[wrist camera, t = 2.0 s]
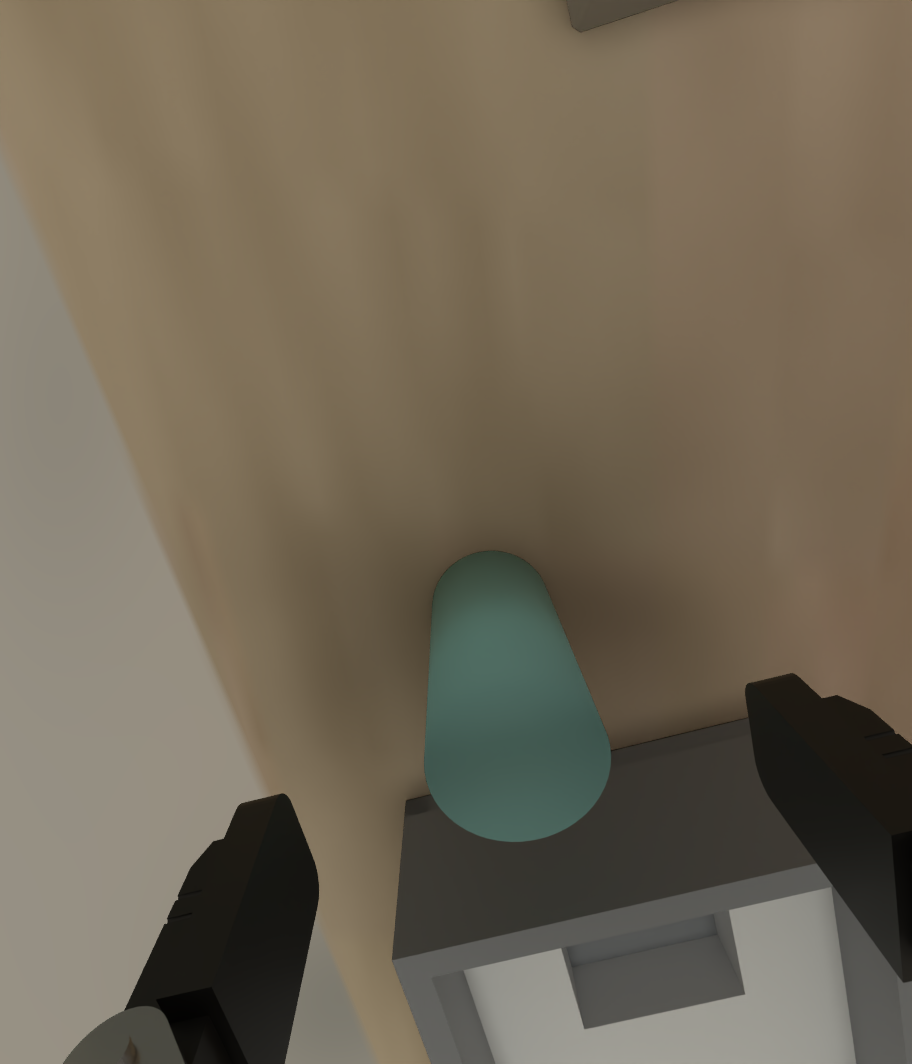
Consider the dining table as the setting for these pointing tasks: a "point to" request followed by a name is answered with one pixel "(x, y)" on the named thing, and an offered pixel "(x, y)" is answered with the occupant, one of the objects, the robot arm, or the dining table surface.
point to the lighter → (606, 11)
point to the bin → (643, 930)
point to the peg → (508, 706)
